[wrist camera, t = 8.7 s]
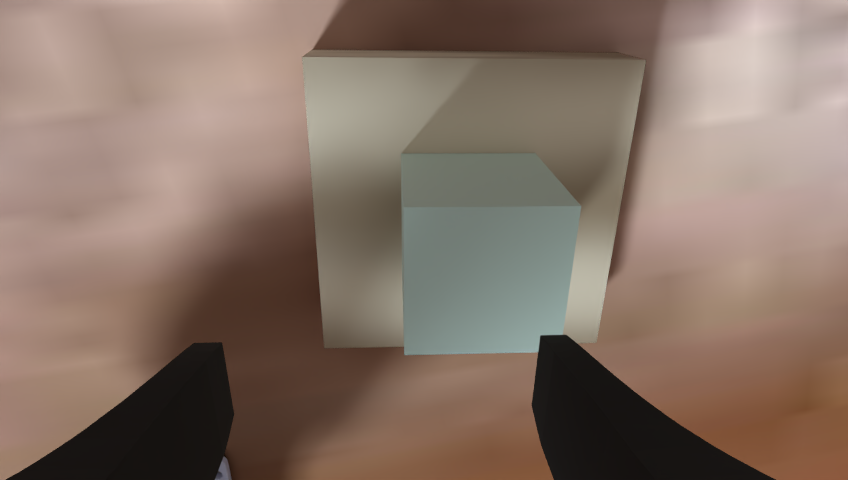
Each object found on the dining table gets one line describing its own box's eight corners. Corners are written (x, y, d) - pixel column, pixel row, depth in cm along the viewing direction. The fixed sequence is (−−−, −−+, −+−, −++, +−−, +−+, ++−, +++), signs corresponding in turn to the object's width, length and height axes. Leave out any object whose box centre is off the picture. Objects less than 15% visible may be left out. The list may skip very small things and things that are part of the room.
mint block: (523, 271, 20) (560, 351, 16) (401, 273, 20) (404, 355, 16) (535, 153, 19) (581, 206, 14) (400, 153, 18) (403, 207, 14)
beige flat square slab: (573, 304, 25) (596, 342, 22) (331, 308, 24) (324, 348, 21) (611, 51, 20) (646, 59, 17) (314, 48, 20) (302, 57, 17)
